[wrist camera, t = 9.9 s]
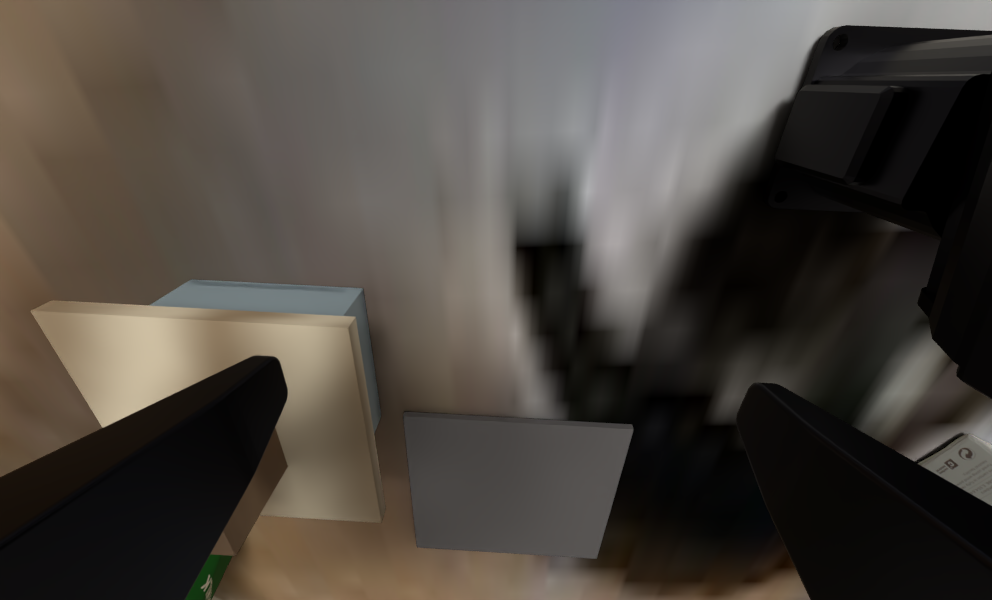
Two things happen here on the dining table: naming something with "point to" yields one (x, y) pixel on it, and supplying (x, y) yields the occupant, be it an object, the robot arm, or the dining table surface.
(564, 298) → the dining table surface
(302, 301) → the light blue storage bin
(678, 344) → the dining table surface
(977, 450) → the skincare box
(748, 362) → the dining table surface
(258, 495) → the lid
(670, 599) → the dining table surface
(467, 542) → the mat
